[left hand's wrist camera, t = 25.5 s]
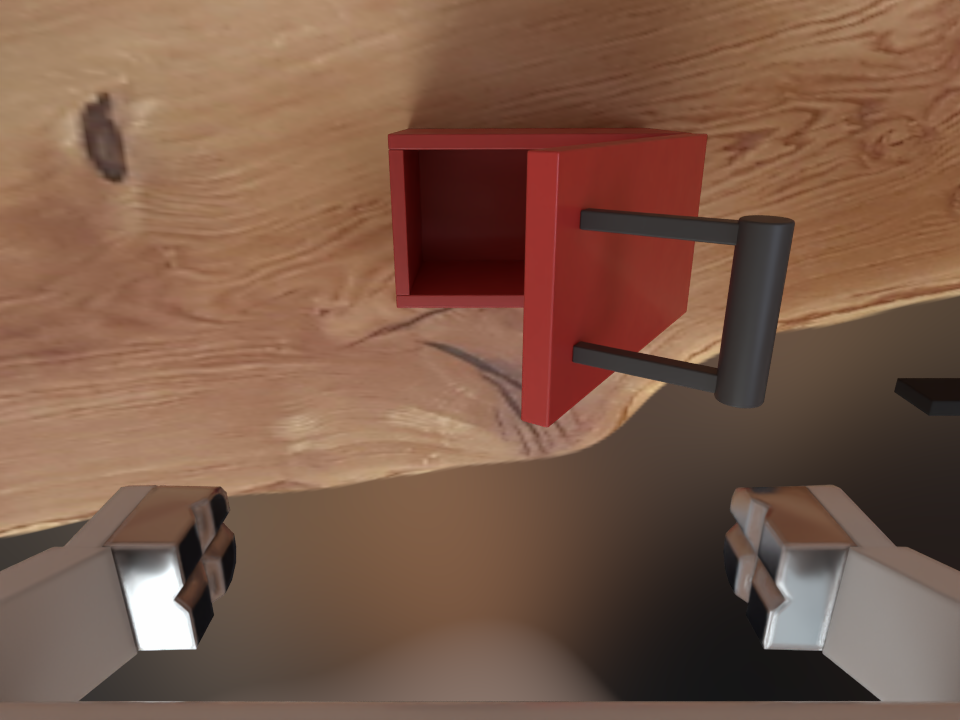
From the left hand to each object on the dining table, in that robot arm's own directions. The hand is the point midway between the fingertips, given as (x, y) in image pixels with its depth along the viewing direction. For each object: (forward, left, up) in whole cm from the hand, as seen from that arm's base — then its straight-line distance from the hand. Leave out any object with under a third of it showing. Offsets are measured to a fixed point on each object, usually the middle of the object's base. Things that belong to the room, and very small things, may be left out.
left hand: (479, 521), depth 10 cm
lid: (+5, +4, -21) cm, 22 cm away
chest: (+2, +2, -39) cm, 39 cm away
